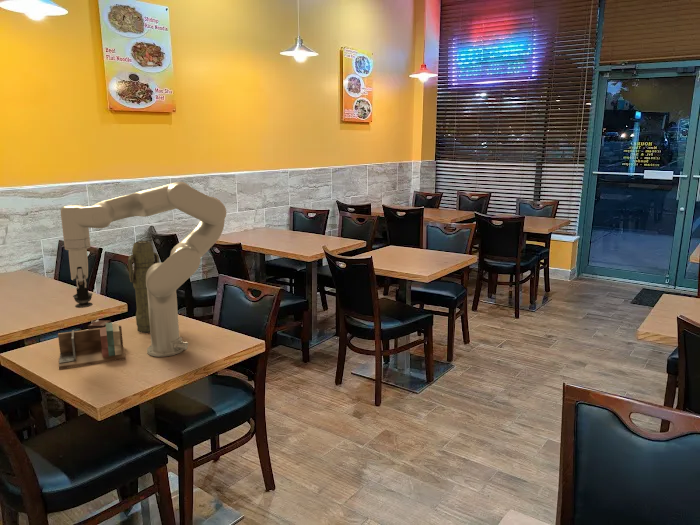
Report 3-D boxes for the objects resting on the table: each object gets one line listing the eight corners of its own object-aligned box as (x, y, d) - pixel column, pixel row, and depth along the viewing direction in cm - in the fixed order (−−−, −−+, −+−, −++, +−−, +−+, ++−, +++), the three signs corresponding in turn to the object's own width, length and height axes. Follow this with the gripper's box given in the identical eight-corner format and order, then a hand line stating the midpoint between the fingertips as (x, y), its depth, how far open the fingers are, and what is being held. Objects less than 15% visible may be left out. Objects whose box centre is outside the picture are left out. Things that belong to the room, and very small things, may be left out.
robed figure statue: (168, 327, 216) (162, 240, 208) (143, 335, 206) (135, 245, 198) (154, 322, 220) (148, 238, 213) (129, 331, 211) (121, 242, 203)
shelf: (123, 346, 195) (120, 319, 193) (125, 359, 184) (122, 331, 182) (60, 355, 187) (57, 327, 185) (59, 369, 175) (55, 340, 173)
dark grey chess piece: (97, 303, 181) (93, 269, 178) (83, 308, 176) (79, 273, 173) (83, 302, 183) (79, 267, 180) (69, 307, 177) (65, 271, 175)
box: (105, 344, 197) (103, 325, 195) (89, 344, 197) (87, 325, 195) (113, 338, 203) (111, 320, 201) (97, 338, 203) (95, 320, 201)
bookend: (76, 351, 187) (74, 330, 186) (76, 361, 179) (73, 338, 178) (60, 354, 185) (57, 332, 183) (59, 363, 177) (56, 340, 176)
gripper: (65, 240, 181) (71, 292, 185) (63, 249, 166) (69, 305, 169) (89, 238, 184) (95, 289, 188) (90, 247, 169) (96, 302, 173)
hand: (83, 296), depth 179 cm, fingers closed on dark grey chess piece, 5 cm apart
